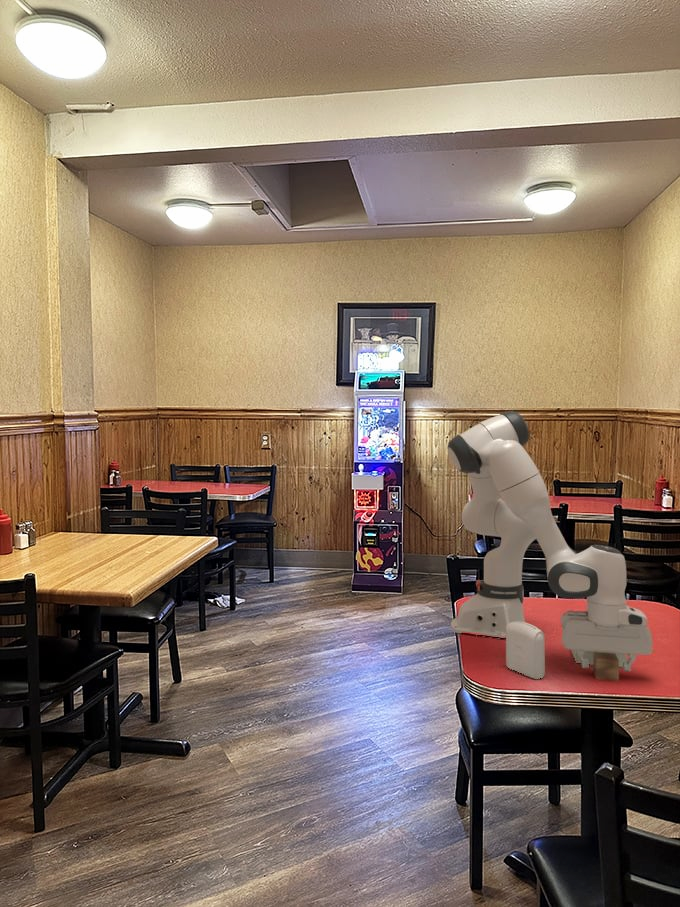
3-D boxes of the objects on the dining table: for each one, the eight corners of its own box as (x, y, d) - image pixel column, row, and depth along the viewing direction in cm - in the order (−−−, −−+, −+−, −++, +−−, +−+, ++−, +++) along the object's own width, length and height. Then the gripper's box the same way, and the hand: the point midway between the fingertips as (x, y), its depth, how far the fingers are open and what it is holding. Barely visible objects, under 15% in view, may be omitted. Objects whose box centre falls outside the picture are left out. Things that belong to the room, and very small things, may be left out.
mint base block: (576, 663, 162) (576, 648, 162) (570, 648, 174) (570, 633, 174) (626, 667, 159) (626, 651, 159) (617, 651, 171) (617, 636, 171)
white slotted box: (503, 668, 160) (503, 619, 159) (515, 664, 162) (515, 616, 162) (535, 681, 151) (535, 630, 151) (547, 677, 153) (547, 627, 153)
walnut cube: (596, 679, 152) (596, 658, 152) (593, 671, 157) (593, 651, 157) (618, 681, 151) (618, 660, 151) (615, 673, 156) (615, 653, 156)
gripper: (562, 613, 153) (561, 670, 153) (654, 619, 148) (654, 677, 149) (559, 606, 159) (559, 661, 160) (648, 611, 154) (647, 667, 155)
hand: (605, 669), depth 154 cm, fingers open, 8 cm apart
